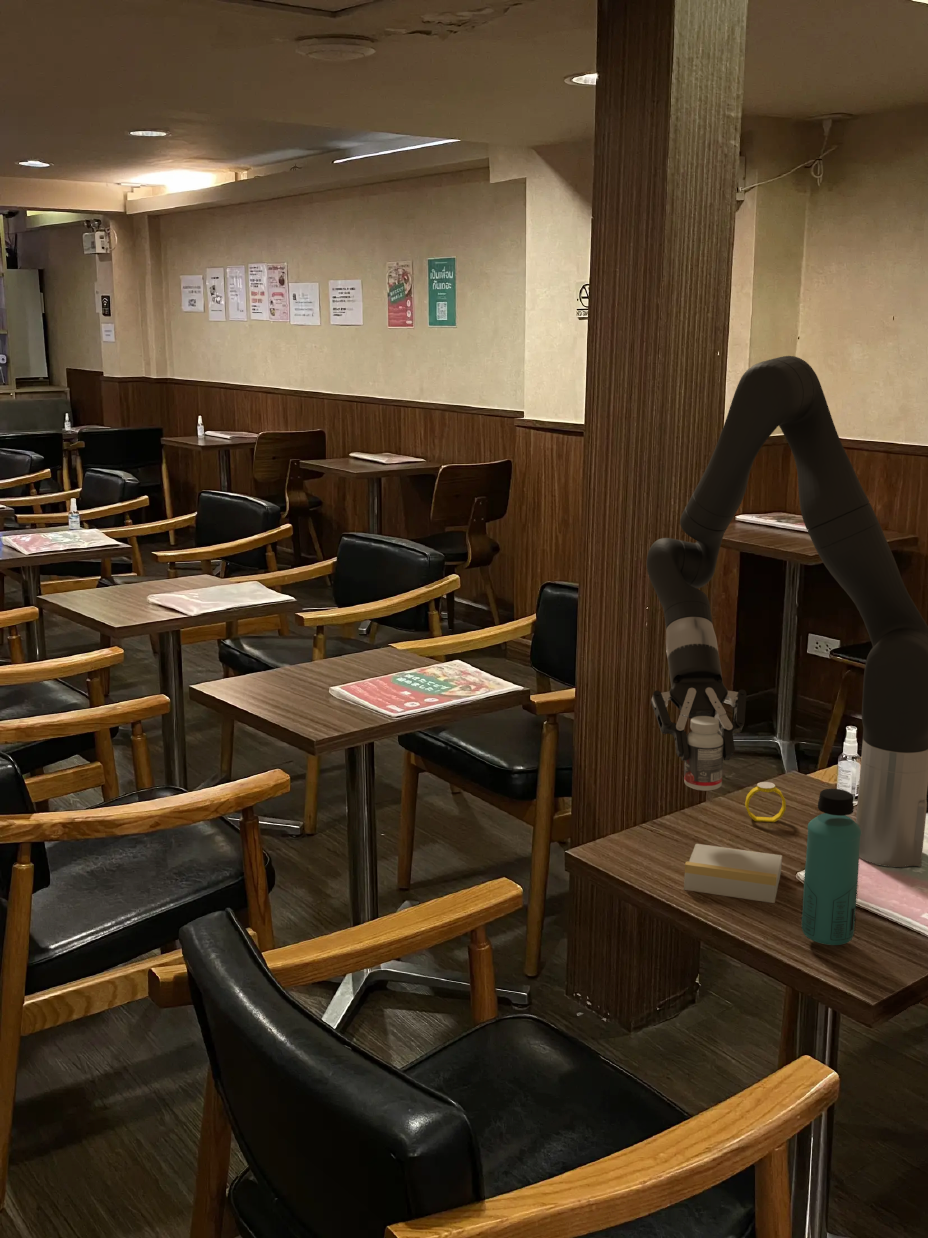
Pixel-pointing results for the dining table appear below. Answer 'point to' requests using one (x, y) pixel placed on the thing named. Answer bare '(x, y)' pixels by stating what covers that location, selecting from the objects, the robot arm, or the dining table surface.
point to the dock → (733, 873)
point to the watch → (765, 788)
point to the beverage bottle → (831, 871)
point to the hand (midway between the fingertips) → (706, 757)
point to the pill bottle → (704, 754)
